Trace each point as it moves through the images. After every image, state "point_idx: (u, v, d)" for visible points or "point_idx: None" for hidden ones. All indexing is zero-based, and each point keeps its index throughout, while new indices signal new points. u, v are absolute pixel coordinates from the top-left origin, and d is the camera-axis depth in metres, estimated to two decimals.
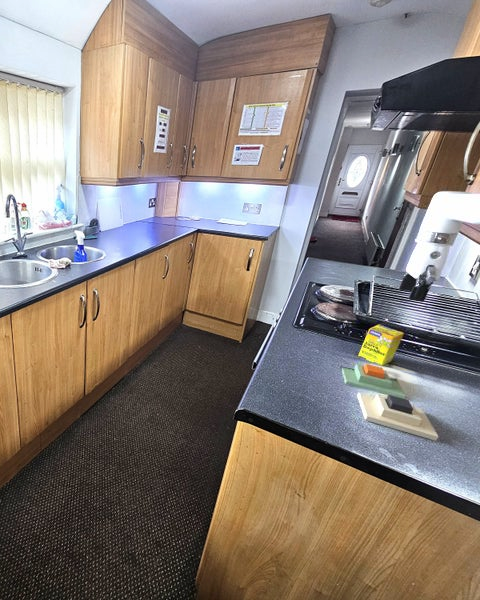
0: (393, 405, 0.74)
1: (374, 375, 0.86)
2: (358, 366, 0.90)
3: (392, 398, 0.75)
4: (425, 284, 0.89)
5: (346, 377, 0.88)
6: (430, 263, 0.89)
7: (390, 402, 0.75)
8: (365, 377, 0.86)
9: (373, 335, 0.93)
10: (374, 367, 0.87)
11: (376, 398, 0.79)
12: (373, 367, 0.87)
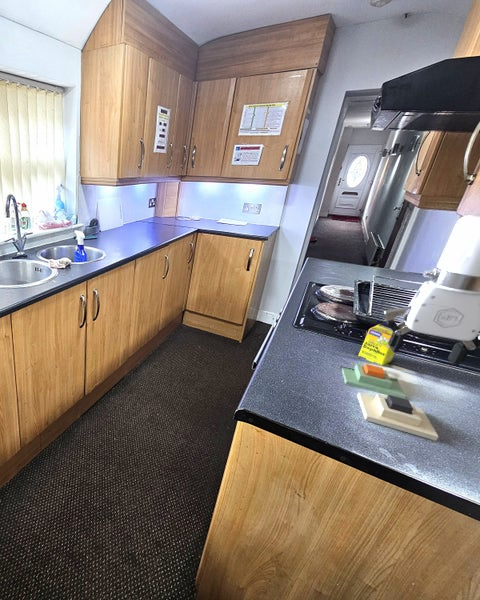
0: (393, 405, 0.74)
1: (374, 375, 0.86)
2: (358, 366, 0.90)
3: (392, 398, 0.75)
4: (388, 324, 0.71)
5: (346, 377, 0.88)
6: (411, 302, 0.68)
7: (390, 402, 0.75)
8: (365, 377, 0.86)
9: (373, 335, 0.93)
10: (374, 367, 0.87)
11: (376, 398, 0.79)
12: (373, 367, 0.87)
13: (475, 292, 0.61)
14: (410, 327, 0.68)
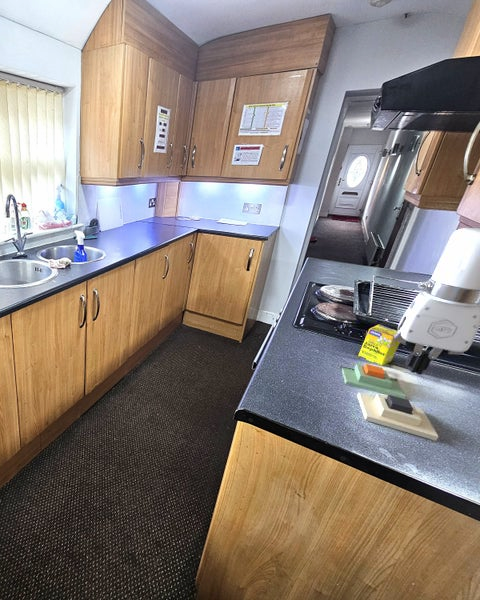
0: (393, 405, 0.74)
1: (374, 375, 0.86)
2: (358, 366, 0.90)
3: (392, 398, 0.75)
4: None
5: (346, 377, 0.88)
6: (406, 313, 0.69)
7: (390, 402, 0.75)
8: (365, 377, 0.86)
9: (373, 335, 0.93)
10: (374, 367, 0.87)
11: (376, 398, 0.79)
12: (373, 367, 0.87)
13: (469, 304, 0.61)
14: (404, 337, 0.68)
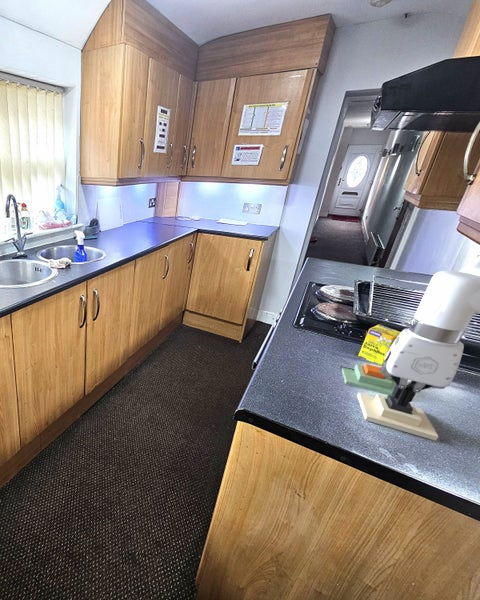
0: (393, 405, 0.74)
1: (374, 375, 0.86)
2: (358, 366, 0.90)
3: (392, 398, 0.75)
4: None
5: (346, 377, 0.88)
6: (391, 348, 0.72)
7: (390, 402, 0.75)
8: (365, 377, 0.86)
9: (373, 335, 0.93)
10: (374, 367, 0.87)
11: (376, 398, 0.79)
12: (373, 367, 0.87)
13: (449, 344, 0.65)
14: (390, 372, 0.72)
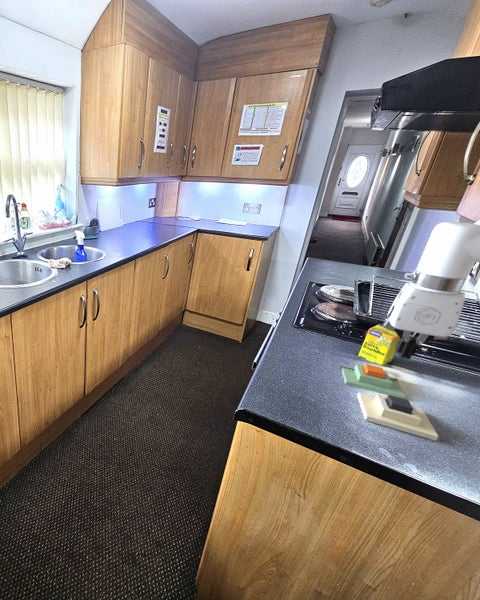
0: (393, 405, 0.74)
1: (374, 375, 0.86)
2: (358, 366, 0.90)
3: (392, 398, 0.75)
4: None
5: (346, 377, 0.88)
6: (394, 302, 0.74)
7: (390, 402, 0.75)
8: (365, 377, 0.86)
9: (373, 335, 0.93)
10: (374, 367, 0.87)
11: (376, 398, 0.79)
12: (373, 367, 0.87)
13: (451, 292, 0.66)
14: (393, 325, 0.73)
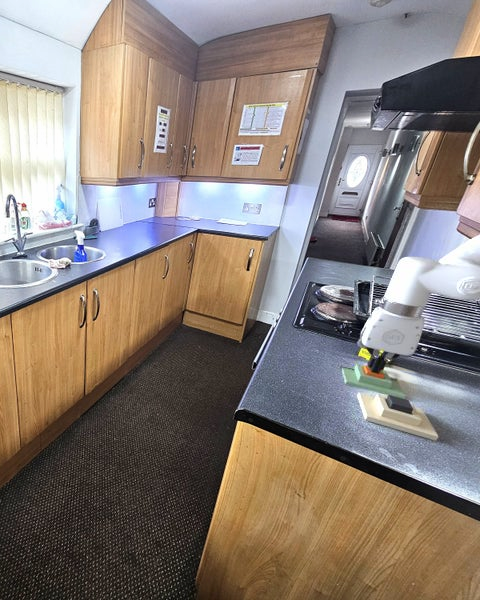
0: (393, 405, 0.74)
1: None
2: (358, 366, 0.90)
3: (392, 398, 0.75)
4: None
5: (346, 377, 0.88)
6: (366, 324, 0.85)
7: (390, 402, 0.75)
8: (365, 377, 0.86)
9: None
10: None
11: (376, 398, 0.79)
12: None
13: (411, 318, 0.77)
14: (364, 344, 0.84)
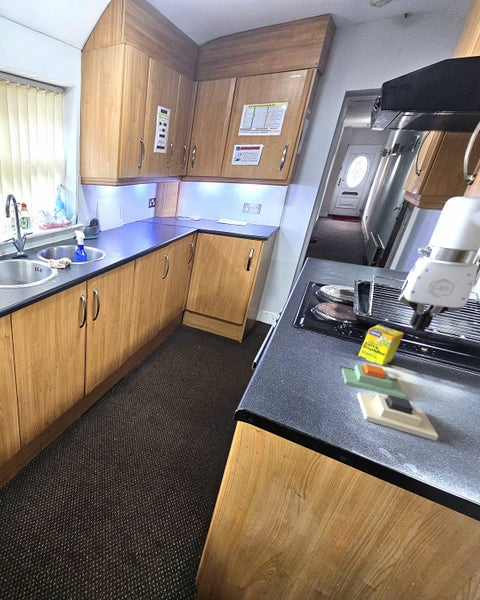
0: (393, 405, 0.74)
1: (374, 375, 0.86)
2: (358, 366, 0.90)
3: (392, 398, 0.75)
4: None
5: (346, 377, 0.88)
6: (408, 276, 0.77)
7: (390, 402, 0.75)
8: (365, 377, 0.86)
9: (373, 335, 0.93)
10: (374, 367, 0.87)
11: (376, 398, 0.79)
12: (373, 367, 0.87)
13: (463, 264, 0.69)
14: (408, 298, 0.76)
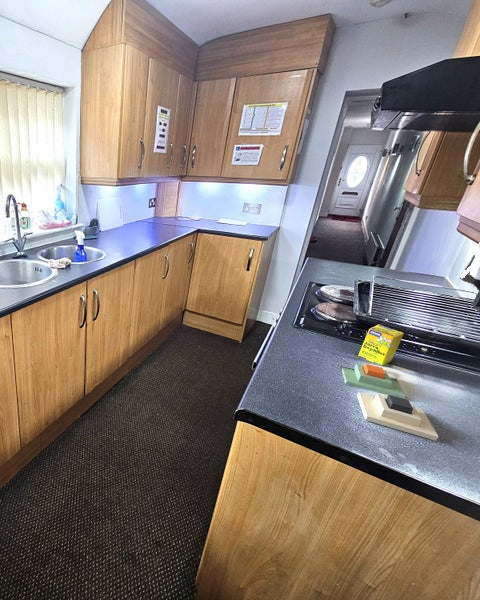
0: (393, 405, 0.74)
1: (374, 375, 0.86)
2: (358, 366, 0.90)
3: (392, 398, 0.75)
4: None
5: (346, 377, 0.88)
6: (475, 252, 0.70)
7: (390, 402, 0.75)
8: (365, 377, 0.86)
9: (373, 335, 0.93)
10: (374, 367, 0.87)
11: (376, 398, 0.79)
12: (373, 367, 0.87)
13: None
14: (474, 275, 0.69)
